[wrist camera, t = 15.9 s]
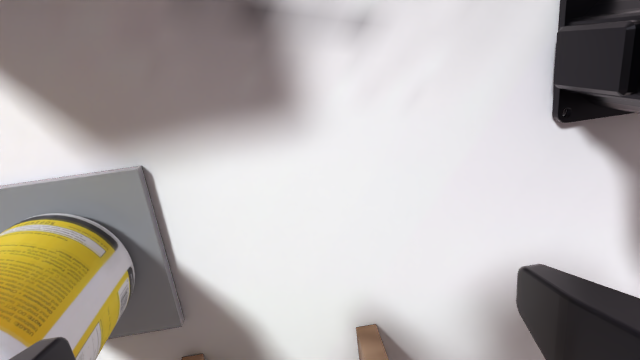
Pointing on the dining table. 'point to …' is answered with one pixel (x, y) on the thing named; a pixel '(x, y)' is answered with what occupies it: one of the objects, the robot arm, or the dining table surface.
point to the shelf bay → (368, 345)
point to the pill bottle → (61, 284)
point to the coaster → (120, 219)
